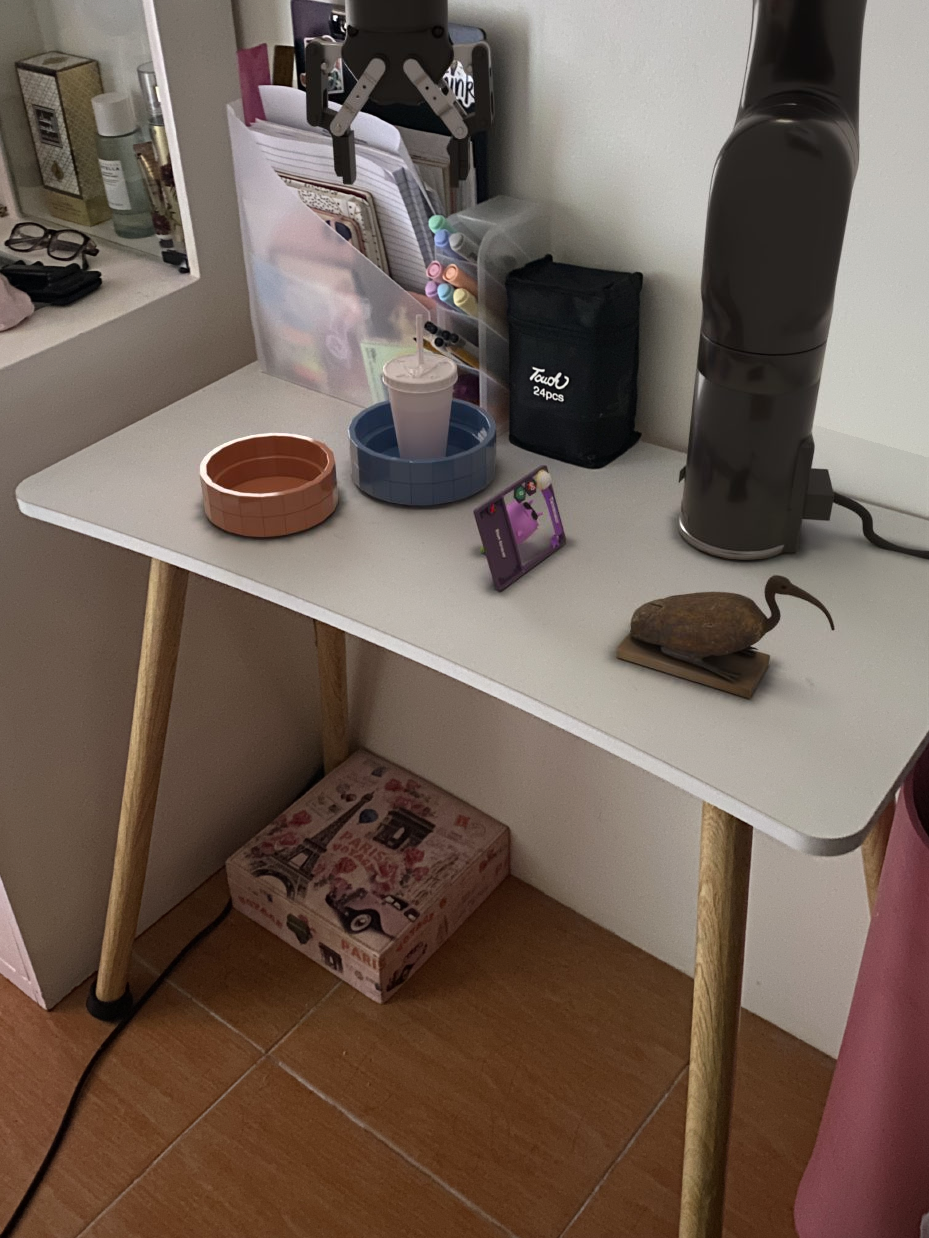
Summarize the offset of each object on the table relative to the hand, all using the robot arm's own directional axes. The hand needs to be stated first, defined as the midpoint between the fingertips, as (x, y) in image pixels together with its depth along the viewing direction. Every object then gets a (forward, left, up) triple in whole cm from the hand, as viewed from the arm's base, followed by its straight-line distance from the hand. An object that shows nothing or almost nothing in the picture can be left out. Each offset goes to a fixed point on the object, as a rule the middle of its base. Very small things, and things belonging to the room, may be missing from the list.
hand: (403, 184), depth 97 cm
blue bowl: (-1, +3, -24) cm, 25 cm away
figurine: (-26, +28, -25) cm, 46 cm away
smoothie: (-1, +3, -24) cm, 24 cm away
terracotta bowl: (+11, +10, -24) cm, 28 cm away
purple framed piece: (-10, +16, -25) cm, 31 cm away
